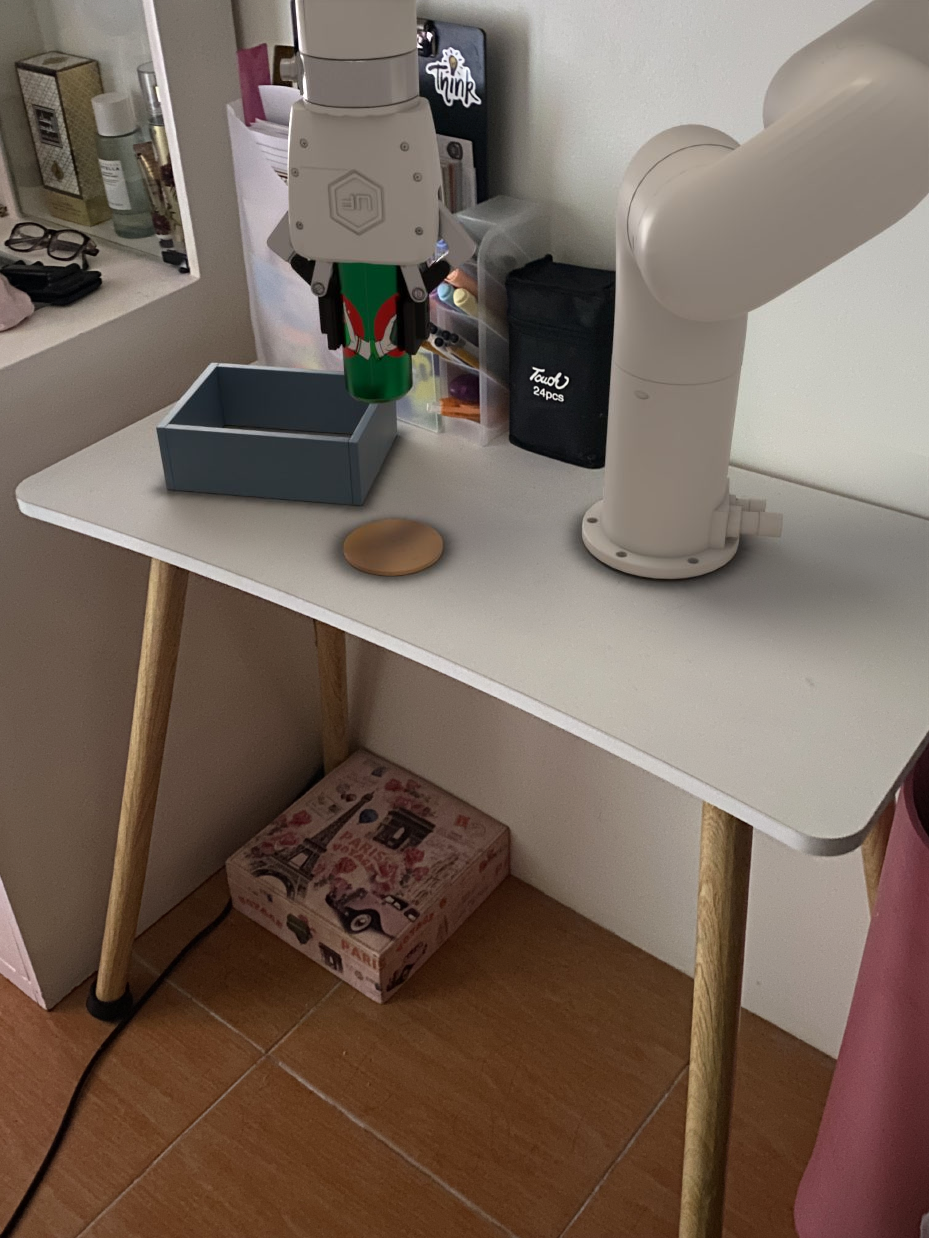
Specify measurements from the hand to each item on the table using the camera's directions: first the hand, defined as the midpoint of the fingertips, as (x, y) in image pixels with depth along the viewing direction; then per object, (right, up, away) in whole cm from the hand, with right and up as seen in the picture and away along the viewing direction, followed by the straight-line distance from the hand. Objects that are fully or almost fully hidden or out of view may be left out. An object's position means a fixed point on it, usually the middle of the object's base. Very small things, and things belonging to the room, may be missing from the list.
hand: (376, 343), depth 89 cm
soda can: (0, -3, +2) cm, 4 cm away
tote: (-10, -6, +22) cm, 24 cm away
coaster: (+1, -15, +9) cm, 17 cm away
